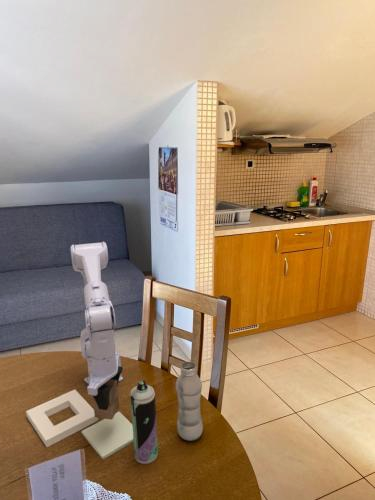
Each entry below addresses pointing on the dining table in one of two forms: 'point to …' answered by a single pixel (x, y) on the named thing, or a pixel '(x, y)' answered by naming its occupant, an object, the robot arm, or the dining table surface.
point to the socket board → (67, 427)
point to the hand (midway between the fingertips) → (107, 401)
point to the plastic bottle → (189, 402)
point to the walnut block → (113, 402)
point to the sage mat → (109, 435)
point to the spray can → (144, 423)
